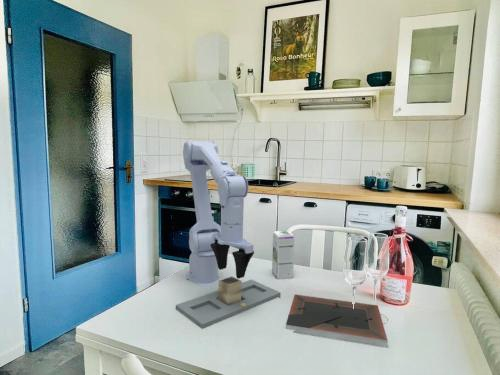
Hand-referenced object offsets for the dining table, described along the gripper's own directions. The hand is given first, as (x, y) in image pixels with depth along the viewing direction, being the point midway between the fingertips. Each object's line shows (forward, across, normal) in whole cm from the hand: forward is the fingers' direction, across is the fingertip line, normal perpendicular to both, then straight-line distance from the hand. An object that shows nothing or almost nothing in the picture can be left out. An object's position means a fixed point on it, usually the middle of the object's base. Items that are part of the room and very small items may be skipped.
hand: (231, 272), depth 85 cm
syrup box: (+9, -5, +26) cm, 28 cm away
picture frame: (+10, +23, +14) cm, 28 cm away
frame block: (+8, 0, 0) cm, 8 cm away
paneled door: (+9, 0, 0) cm, 9 cm away
